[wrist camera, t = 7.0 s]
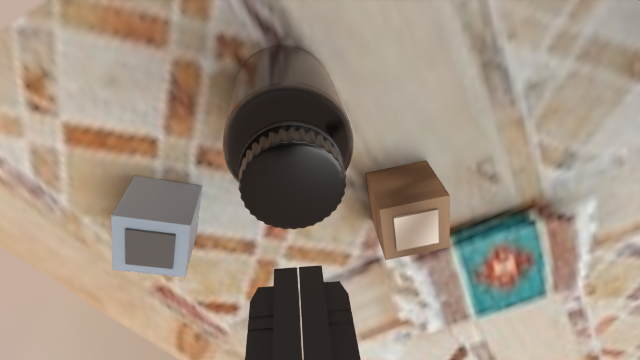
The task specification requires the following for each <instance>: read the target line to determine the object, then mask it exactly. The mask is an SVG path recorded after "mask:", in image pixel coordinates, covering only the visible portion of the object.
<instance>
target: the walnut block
mask: <svg viewBox="0 0 640 360" xmlns="http://www.w3.org/2000/svg"><path fill="white" fill-rule="evenodd" d="M366 179H367V186H368V193H369V200H370V208H371V215H372V221H373V224H374V227H375V230H376V233H377V236H378V239H379V242H380V245H381V248H382V250H383V253H384V256H385V259H386V260H388V259H393V258H398V257H403V256H408V255H413V254H418V253H423V252H428V251H433V250H437V249H442V248H447V247H449V227H450V195H449V194H448V192H447V191H446V189H445V188H444V186H443V185H442V183H441V182H440V180H439V179H438V177H437V176H436V174H435V173H434V171H433V170H432V168H431V167H430V165H429V164H428V162H427V161H422V162H417V163H413V164H408V165H403V166H398V167H393V168H388V169H384V170H379V171H374V172H369V173H366Z"/></svg>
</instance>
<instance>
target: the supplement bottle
mask: <svg viewBox="0 0 640 360" xmlns="http://www.w3.org/2000/svg"><path fill="white" fill-rule="evenodd" d="M223 152H224V157H225V161H226V164H227V166H228V168H229V170H230V172H231V174H232V175H233V177H234V178H235V180H236V181H237V182H238V183H239V191H240V193H241V199H242V201H243V202H244V204H245V207H246V208H247V209H248V210H249V211H250V214H252V215H254V216H255V217H256V218H257V220H260V221H263V222H264V223H265V224H267V225H272V226H273V227H280V228H283V229H288V228H290V229H297V228H305V227H307V226H313V225H315V224H316V223H318V222H321V221H323V220H324V218H326V217H328V216H330V215H331V213H332V212H333V211H335V210H336V208H337V206H338V205H339V204H340V203H341V199H342V197H343V196H344V194H345V191H344V189H345V187H346V181H345V179H346V173H345V172H346V170H347V168H348V166H349V164H350V161H351V158H352V153H353V133H352V129H351V126H350V122H349V120H348V117H347V115H346V113H345V110H344V108H343V106H342V104H341V101H340V99H339V97H338V94H337V92H336V90H335V87H334V85H333V83H332V81H331V78H330V76H329V74H328V73H327V71H326V69H325V68H324V66H323V65H322V64H321V63H320V62H319V61H318V60H317V59H316V58H315V57H314V56H312V55H311V54H309V53H308V52H306V51H304V50H301V49H298V48H294V47H289V46H277V47H271V48H268V49H265V50H262V51H260V52H258V53H257V54H255V55H254V56H252V57H251V58H250V59H249V60H248V61H247V62H246V63H245V64H244V65H243V67H242V68H241V70H240V72H239V74H238V76H237V78H236V82H235V85H234V89H233V93H232V98H231V102H230V107H229V112H228V116H227V121H226V125H225V130H224V137H223Z"/></svg>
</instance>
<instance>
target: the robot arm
mask: <svg viewBox="0 0 640 360" xmlns="http://www.w3.org/2000/svg"><path fill="white" fill-rule="evenodd" d="M299 276H300V295H301V314H302V333H303V351H304V360H360V355H359V349H358V344H357V339H356V333H355V328H354V324H353V317H352V312H351V306H350V301H349V296H348V293H347V292H346V290H345V289H344V287H343V286H342V285H341V283H340V282H339V281H337V282H324V281H323V273H322V266H309V267H299ZM245 360H302V347H301V326H300V307H299V291H298V275H297V268H283V269H274V286H272V287H258V289H257V290H256V292H255V294H254V296H253V297H252V299H251V301H250V310H249V321H248V333H247V345H246V357H245Z"/></svg>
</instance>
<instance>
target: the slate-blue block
mask: <svg viewBox="0 0 640 360" xmlns="http://www.w3.org/2000/svg"><path fill="white" fill-rule="evenodd" d="M201 192H202V186H200V185H193V184H187V183H180V182H174V181H167V180H160V179H154V178H147V177H141V176H134V177H133V179H132V181H131V182H130V184H129V186H128V187H127V189H126V191H125V193H124V194H123V196H122V198H121V199H120V201H119V203H118V205H117V206H116V208H115V210H114V211H113V213H112V215H111V225H112V257H113V270H119V271H129V272H139V273H149V274H159V275H169V276H178V277H185V276H186V272H187V269H188V265H189V261H190V257H191V253H192V250H193V246H194V242H195V238H196V234H197V226H198V218H199V209H200V200H201Z"/></svg>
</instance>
